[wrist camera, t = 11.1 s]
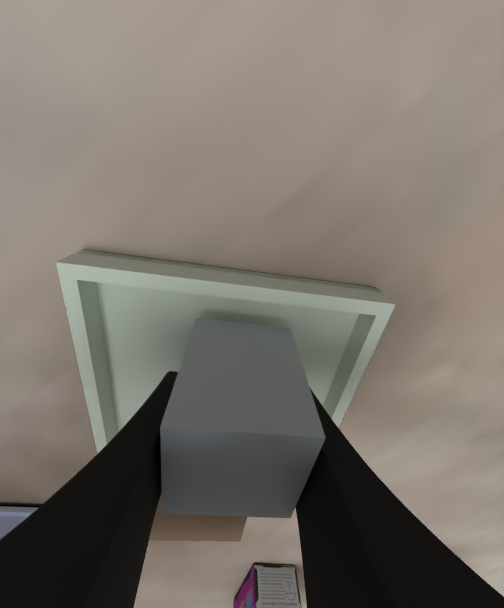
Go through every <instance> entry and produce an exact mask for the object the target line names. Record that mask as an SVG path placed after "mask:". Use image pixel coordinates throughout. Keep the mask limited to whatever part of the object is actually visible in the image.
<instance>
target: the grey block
mask: <svg viewBox="0 0 504 608" xmlns="http://www.w3.org/2000/svg"><path fill="white" fill-rule="evenodd" d="M160 436H161V477H162V514H186V515H215V516H244V517H272V518H291V516H292V513H293V511H294V509H295V507H296V504H297V502H298V500H299V497H300V495H301V493H302V491H303V488H304V486H305V484H306V482H307V479H308V477H309V475H310V472H311V470H312V468H313V466H314V463H315V461H316V459H317V456H318V454H319V452H320V450H321V447H322V445H323V443H324V440H325V438H326V437H325V434H324V431H323V428H322V425H321V422H320V418H319V415H318V412H317V409H316V406H315V403H314V400H313V396H312V393H311V390H310V387H309V384H308V381H307V378H306V374H305V371H304V368H303V365H302V362H301V359H300V356H299V352H298V349H297V346H296V343H295V340H294V337H293V333H292V330H291V328H284V327H275V326H266V325H257V324H248V323H239V322H230V321H221V320H212V319H203V318H196V320H195V323H194V326H193V329H192V332H191V335H190V338H189V341H188V344H187V347H186V350H185V353H184V356H183V359H182V362H181V365H180V368H179V371H178V374H177V377H176V381H175V384H174V387H173V390H172V393H171V396H170V399H169V402H168V405H167V408H166V411H165V414H164V417H163V420H162V423H161V426H160Z"/></svg>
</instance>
